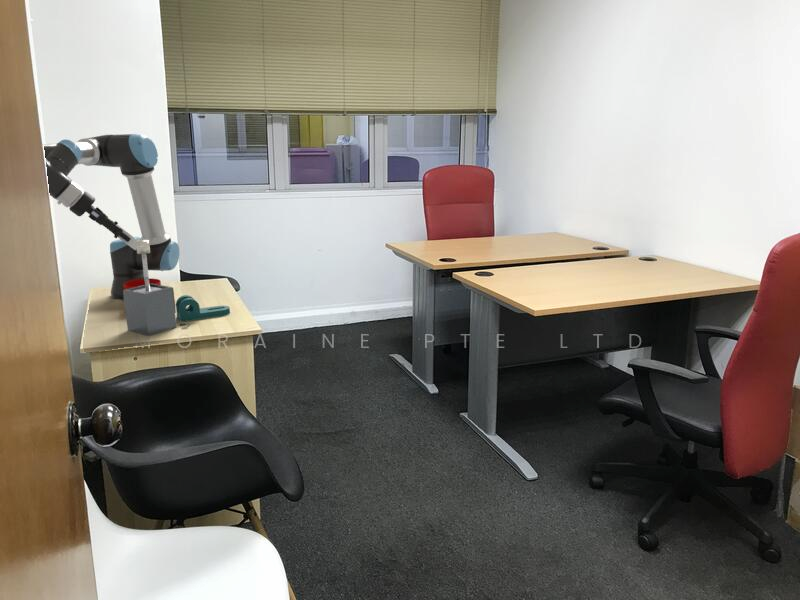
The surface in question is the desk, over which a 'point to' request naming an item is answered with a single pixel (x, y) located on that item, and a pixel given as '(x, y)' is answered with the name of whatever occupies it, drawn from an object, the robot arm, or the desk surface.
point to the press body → (150, 310)
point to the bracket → (197, 309)
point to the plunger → (145, 266)
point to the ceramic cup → (140, 283)
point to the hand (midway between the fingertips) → (134, 243)
